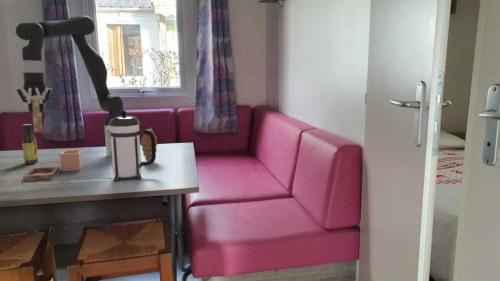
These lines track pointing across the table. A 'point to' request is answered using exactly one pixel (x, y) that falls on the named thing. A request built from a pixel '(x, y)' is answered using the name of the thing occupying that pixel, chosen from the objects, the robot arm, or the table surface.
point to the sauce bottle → (29, 145)
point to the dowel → (37, 116)
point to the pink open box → (71, 160)
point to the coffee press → (128, 146)
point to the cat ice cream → (147, 145)
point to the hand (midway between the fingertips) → (36, 112)
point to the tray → (41, 173)
